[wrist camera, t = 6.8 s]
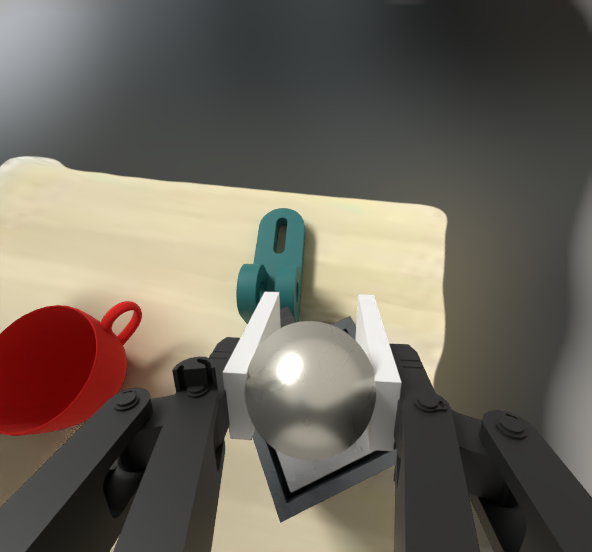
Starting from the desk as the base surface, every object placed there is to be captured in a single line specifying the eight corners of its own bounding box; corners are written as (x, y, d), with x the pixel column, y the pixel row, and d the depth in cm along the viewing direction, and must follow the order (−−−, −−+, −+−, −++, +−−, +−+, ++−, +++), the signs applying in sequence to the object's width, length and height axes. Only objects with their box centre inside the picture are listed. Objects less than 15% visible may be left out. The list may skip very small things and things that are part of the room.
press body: (252, 359, 40) (218, 329, 27) (329, 324, 41) (331, 280, 28) (297, 484, 34) (280, 522, 21) (387, 440, 35) (422, 450, 22)
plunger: (252, 379, 26) (146, 317, 11) (343, 337, 27) (366, 225, 12) (291, 491, 23) (216, 641, 7) (394, 439, 24) (528, 473, 8)
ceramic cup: (191, 355, 41) (153, 336, 32) (78, 458, 37) (-3, 469, 28) (141, 292, 45) (95, 260, 36) (35, 377, 41) (-46, 364, 32)
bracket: (298, 328, 41) (292, 309, 34) (248, 326, 42) (233, 306, 35) (306, 217, 49) (303, 182, 42) (264, 216, 50) (254, 182, 42)
